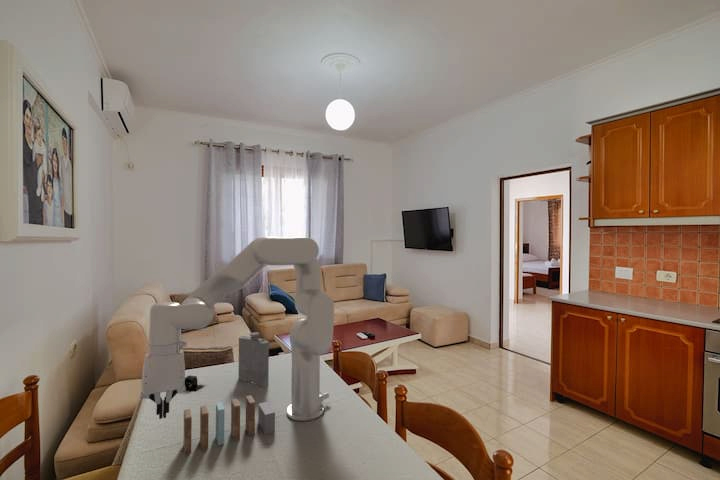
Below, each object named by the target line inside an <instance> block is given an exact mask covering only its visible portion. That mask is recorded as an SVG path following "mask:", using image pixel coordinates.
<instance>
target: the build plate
mask: <svg viewBox="0 0 720 480" xmlns="http://www.w3.org/2000/svg"><path fill="white" fill-rule="evenodd" d="M185 388H186V390H185V391H188V392H198V391H199V390H201V389H203V388H205V385H202V384H198V376H197V375H196V376H195V375H187V376H185Z"/></svg>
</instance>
